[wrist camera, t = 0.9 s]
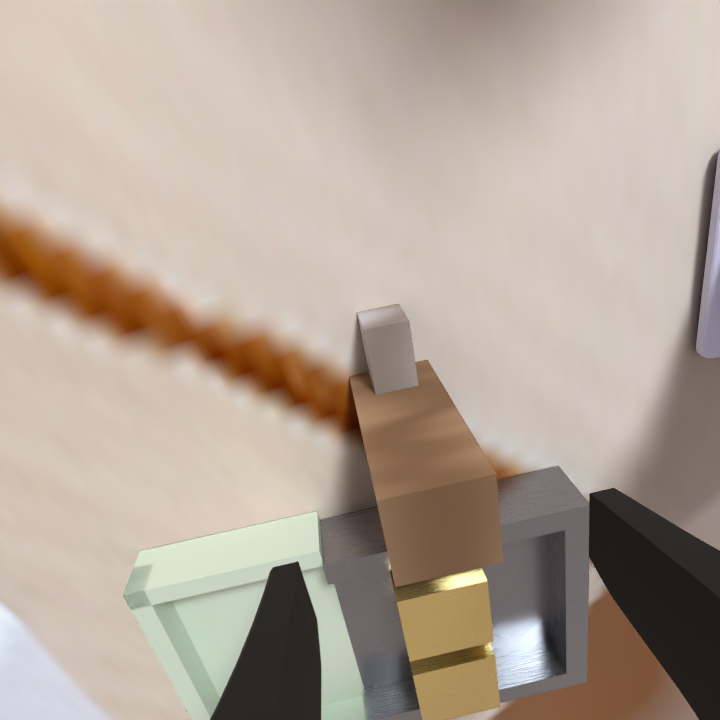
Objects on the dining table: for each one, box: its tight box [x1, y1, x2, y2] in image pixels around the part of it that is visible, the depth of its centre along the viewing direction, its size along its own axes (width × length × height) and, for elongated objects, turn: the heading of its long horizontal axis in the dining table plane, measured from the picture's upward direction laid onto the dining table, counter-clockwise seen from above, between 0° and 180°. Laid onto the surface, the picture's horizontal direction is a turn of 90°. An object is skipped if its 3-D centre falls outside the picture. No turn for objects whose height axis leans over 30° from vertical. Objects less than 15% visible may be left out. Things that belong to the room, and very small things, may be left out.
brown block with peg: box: [349, 304, 503, 587], centre depth 16 cm, size 3×8×7 cm, turn 11°
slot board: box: [320, 466, 589, 720], centre depth 22 cm, size 10×11×2 cm
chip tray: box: [123, 511, 368, 720], centre depth 22 cm, size 8×12×2 cm, turn 11°
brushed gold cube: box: [390, 567, 494, 662], centre depth 20 cm, size 4×4×2 cm
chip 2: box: [410, 643, 500, 720], centre depth 22 cm, size 4×4×2 cm
